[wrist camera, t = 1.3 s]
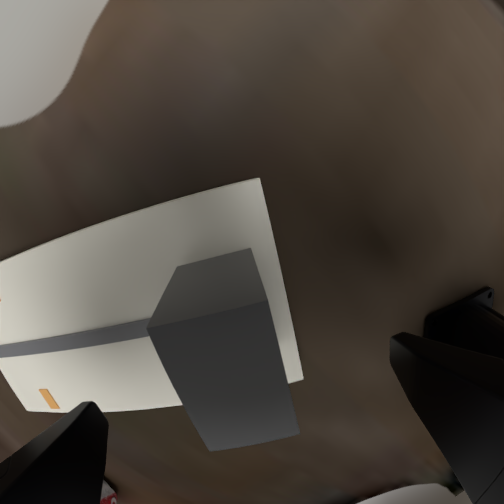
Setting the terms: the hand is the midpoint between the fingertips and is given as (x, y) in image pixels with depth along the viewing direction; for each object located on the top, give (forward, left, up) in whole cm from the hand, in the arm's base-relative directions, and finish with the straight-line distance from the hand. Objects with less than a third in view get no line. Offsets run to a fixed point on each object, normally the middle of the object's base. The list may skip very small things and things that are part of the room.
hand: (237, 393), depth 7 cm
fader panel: (+7, 0, -7) cm, 10 cm away
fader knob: (0, 0, -5) cm, 5 cm away
